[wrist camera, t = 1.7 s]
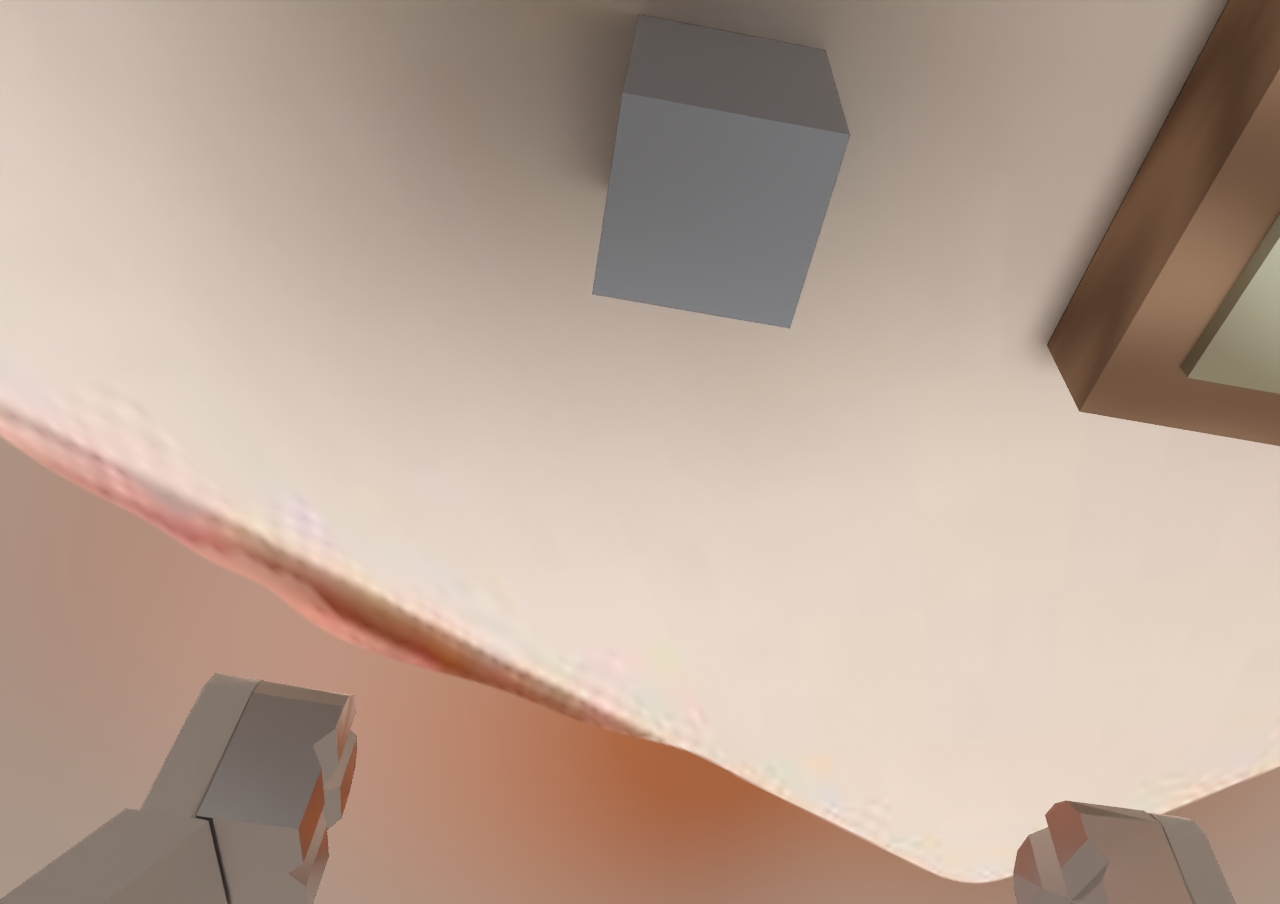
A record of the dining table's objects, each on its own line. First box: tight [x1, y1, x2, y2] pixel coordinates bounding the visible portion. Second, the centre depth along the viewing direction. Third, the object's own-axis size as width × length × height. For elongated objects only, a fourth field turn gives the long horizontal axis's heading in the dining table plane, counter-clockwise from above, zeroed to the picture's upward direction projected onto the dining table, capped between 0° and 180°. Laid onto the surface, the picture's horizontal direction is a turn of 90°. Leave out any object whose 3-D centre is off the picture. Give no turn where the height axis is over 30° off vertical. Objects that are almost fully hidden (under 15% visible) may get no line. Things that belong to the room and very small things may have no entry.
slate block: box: [592, 15, 850, 328], centre depth 24 cm, size 5×5×6 cm
